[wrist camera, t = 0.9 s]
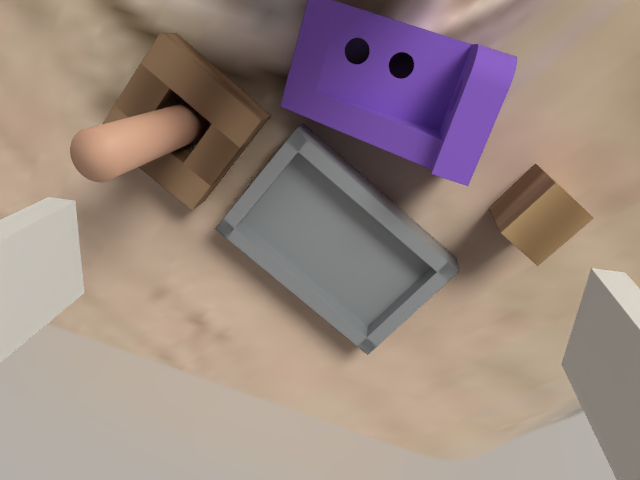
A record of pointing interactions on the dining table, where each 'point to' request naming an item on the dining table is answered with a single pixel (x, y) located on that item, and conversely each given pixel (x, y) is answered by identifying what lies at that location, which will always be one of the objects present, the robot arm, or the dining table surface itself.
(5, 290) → the robot arm
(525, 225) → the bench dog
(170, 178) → the dowel block
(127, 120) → the dowel
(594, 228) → the dining table surface
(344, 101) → the bracket
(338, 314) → the tray
